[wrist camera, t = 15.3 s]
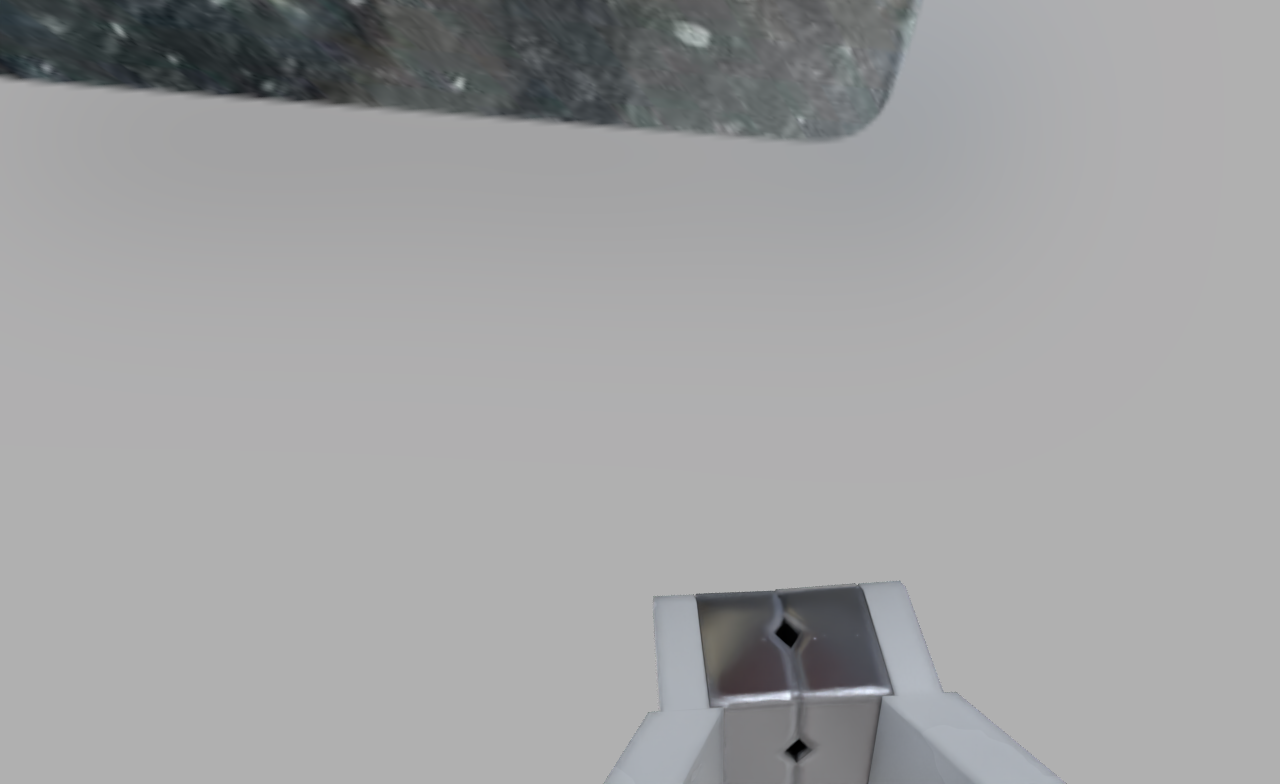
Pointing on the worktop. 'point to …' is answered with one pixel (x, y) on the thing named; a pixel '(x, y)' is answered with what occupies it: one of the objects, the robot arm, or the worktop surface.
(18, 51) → the worktop surface
